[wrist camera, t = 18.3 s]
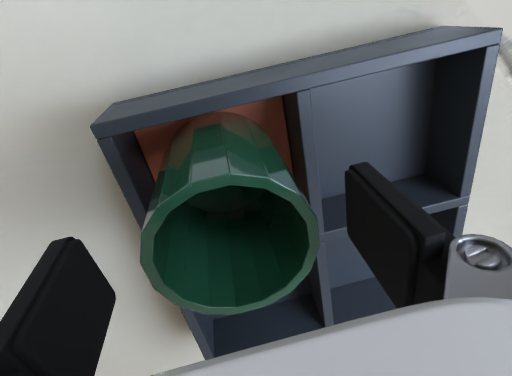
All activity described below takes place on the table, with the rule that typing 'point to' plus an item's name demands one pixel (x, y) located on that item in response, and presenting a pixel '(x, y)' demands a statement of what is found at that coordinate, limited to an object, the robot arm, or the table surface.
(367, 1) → the table surface
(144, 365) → the table surface
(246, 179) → the tumbler
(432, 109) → the tray
